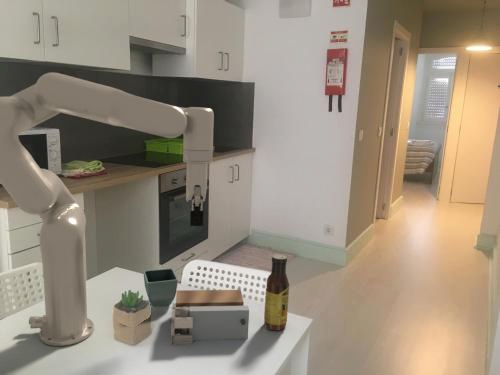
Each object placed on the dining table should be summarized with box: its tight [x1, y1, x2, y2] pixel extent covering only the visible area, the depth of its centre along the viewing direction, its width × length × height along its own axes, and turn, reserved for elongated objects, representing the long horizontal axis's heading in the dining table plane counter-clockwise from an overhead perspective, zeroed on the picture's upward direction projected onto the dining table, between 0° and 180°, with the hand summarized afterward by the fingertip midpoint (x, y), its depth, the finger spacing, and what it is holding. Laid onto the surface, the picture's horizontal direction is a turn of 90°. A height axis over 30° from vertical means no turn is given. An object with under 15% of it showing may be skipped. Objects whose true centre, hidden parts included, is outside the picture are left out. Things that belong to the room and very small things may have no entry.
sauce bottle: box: [263, 253, 290, 332], centre depth 112 cm, size 6×6×20 cm
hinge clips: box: [170, 302, 193, 346], centre depth 106 cm, size 5×8×7 cm, turn 7°
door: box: [180, 305, 250, 341], centre depth 106 cm, size 17×3×8 cm, turn 97°
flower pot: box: [143, 267, 179, 308], centre depth 123 cm, size 9×9×9 cm
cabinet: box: [175, 289, 245, 307], centre depth 115 cm, size 18×8×7 cm, turn 97°
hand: (196, 220), depth 111 cm, fingers open, 9 cm apart
